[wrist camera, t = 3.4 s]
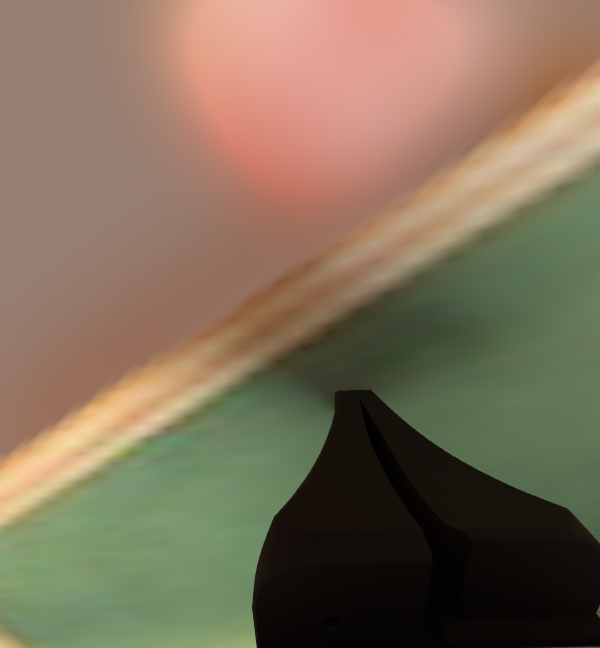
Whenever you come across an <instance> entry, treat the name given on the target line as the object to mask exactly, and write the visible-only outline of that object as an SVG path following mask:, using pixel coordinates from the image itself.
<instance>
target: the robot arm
mask: <svg viewBox="0 0 600 648" xmlns="http://www.w3.org/2000/svg"><path fill="white" fill-rule="evenodd" d="M599 605H600V543H599V542H598V541H597V540H596V539H595V538H594V537H593V535H592V534H591V533H590V532H589V531H588V530H587V529H586V528H585V527H584V526H583V525H582V523H581V522H580V521H579V520H578V519H577V518H576V517H575V516H574V515H573V514H572V513H571V512H570V511H569V510H568V509H567V508H564V507H562V506H559V505H557V504H554V503H551V502H549V501H546V500H544V499H541V498H539V497H536V496H534V495H531V494H528V493H526V492H523V491H521V490H519V489H516V488H514V487H512V486H510V485H508V484H506V483H503V482H501V481H499V480H497V479H495V478H493V477H491V476H489V475H487V474H485V473H483V472H481V471H479V470H477V469H475V468H473V467H472V466H470V465H468V464H466V463H464V462H462V461H461V460H459V459H457V458H456V457H454V456H452V455H451V454H449V453H447V452H446V451H444V450H443V449H441V448H440V447H438V446H437V445H435V444H434V443H432V442H431V441H429V440H428V439H427V438H425V437H424V436H423V435H421V434H420V433H419V432H417V431H416V430H415V429H414V428H412V427H411V426H410V425H409V424H407V423H406V422H405V421H404V420H403V419H401V418H400V417H399V416H398V415H397V414H396V413H395V412H393V411H392V410H391V409H390V408H389V407H388V406H387V405H386V404H385V403H384V402H383V401H382V400H381V399H380V398H379V397H378V396H377V395H376V394H375V393H373V392H372V391H371V390H349V391H337V392H336V393H335V413H334V417H333V421H332V425H331V428H330V431H329V434H328V436H327V439H326V442H325V444H324V446H323V448H322V450H321V453H320V455H319V457H318V458H317V460H316V462H315V464H314V466H313V467H312V469H311V471H310V472H309V474H308V475H307V477H306V478H305V480H304V481H303V483H302V484H301V485H300V487H299V488H298V489H297V491H296V492H295V494H294V495H293V496H292V497H291V499H290V500H289V501H288V502H287V503H286V504H285V505H284V506H283V508H282V509H281V510H280V511H279V512H278V513H277V514H276V515H275V516H274V518H273V521H272V523H271V526H270V528H269V531H268V533H267V536H266V539H265V541H264V544H263V547H262V550H261V553H260V557H259V561H258V565H257V569H256V574H255V582H254V592H253V603H252V611H253V619H254V628H255V636H256V645H257V648H600V618H599V616H598V615H597V614H596V612H597V610H598V608H599Z"/></svg>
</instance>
